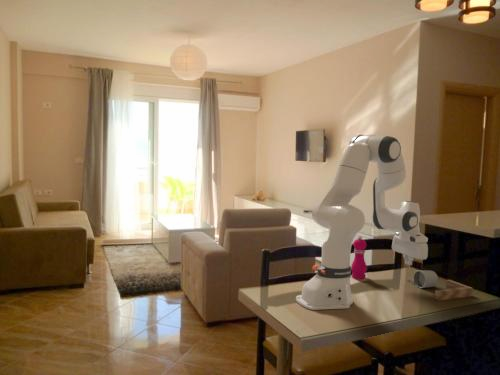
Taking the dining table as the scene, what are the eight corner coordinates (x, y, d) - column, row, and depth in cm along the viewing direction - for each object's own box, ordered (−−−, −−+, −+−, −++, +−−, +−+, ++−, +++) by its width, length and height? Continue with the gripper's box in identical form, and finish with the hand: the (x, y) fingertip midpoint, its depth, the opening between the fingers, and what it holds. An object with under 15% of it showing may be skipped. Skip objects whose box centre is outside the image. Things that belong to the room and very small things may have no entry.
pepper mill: (369, 278, 193) (371, 236, 191) (356, 280, 190) (358, 237, 188) (360, 274, 199) (361, 234, 198) (347, 276, 197) (349, 234, 195)
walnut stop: (438, 300, 164) (438, 292, 164) (416, 291, 175) (417, 283, 175) (472, 296, 170) (472, 287, 170) (449, 287, 181) (449, 279, 181)
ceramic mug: (439, 288, 180) (440, 271, 179) (424, 290, 177) (425, 272, 176) (421, 282, 190) (422, 265, 189) (407, 283, 187) (407, 267, 186)
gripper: (389, 231, 200) (388, 259, 201) (419, 240, 181) (418, 270, 182) (399, 231, 202) (398, 258, 203) (430, 239, 183) (429, 269, 184)
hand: (408, 264), depth 192 cm, fingers closed
